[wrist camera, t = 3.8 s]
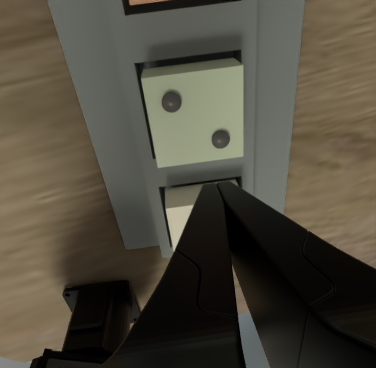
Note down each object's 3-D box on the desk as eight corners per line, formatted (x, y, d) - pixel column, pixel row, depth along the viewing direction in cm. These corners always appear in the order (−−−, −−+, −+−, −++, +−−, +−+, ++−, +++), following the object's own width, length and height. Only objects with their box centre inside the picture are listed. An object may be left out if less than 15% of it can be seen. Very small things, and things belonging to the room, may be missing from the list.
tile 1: (236, 231, 23) (243, 255, 21) (174, 240, 23) (175, 264, 21) (235, 179, 20) (244, 200, 18) (165, 188, 20) (165, 210, 18)
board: (280, 225, 26) (290, 244, 24) (126, 246, 26) (123, 267, 23) (321, -216, 12) (355, -261, 10) (-6, -177, 12) (-40, -215, 10)
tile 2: (234, 140, 18) (244, 158, 16) (158, 150, 18) (157, 169, 16) (233, 57, 16) (244, 65, 14) (143, 69, 16) (140, 79, 14)
